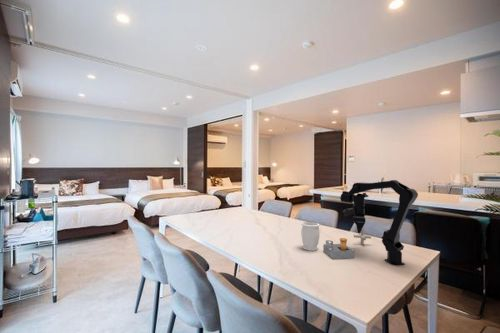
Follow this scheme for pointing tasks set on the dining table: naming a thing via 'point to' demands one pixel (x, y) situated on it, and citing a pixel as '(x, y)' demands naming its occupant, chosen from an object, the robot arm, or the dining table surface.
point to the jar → (310, 235)
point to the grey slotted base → (337, 251)
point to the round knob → (343, 243)
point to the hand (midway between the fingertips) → (358, 231)
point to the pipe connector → (362, 236)
